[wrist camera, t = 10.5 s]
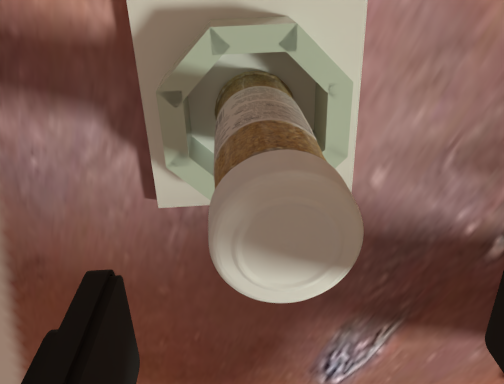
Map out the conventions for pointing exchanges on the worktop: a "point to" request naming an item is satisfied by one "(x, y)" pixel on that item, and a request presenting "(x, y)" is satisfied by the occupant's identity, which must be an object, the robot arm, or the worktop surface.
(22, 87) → the worktop surface
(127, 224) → the worktop surface
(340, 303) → the worktop surface
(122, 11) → the worktop surface
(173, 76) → the bottle collar
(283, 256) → the sprinkles bottle
